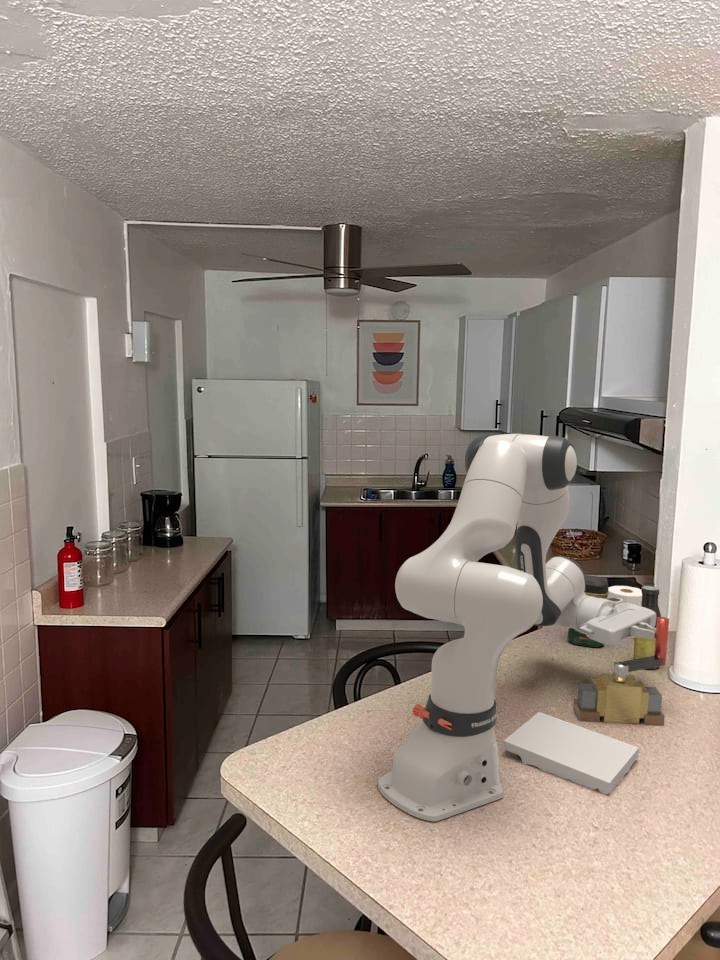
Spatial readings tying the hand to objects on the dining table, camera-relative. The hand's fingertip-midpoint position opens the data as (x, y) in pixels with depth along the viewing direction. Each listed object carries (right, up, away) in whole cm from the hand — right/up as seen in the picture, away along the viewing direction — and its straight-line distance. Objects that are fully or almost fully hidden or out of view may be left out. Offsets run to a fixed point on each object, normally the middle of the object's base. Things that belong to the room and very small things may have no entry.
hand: (656, 634), depth 152 cm
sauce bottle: (+7, -13, +24) cm, 28 cm away
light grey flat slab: (-25, -19, -20) cm, 37 cm away
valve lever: (-5, -8, -2) cm, 10 cm away
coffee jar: (-3, -11, +39) cm, 41 cm away
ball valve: (-10, -16, -3) cm, 19 cm away
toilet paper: (+11, -10, +48) cm, 50 cm away
